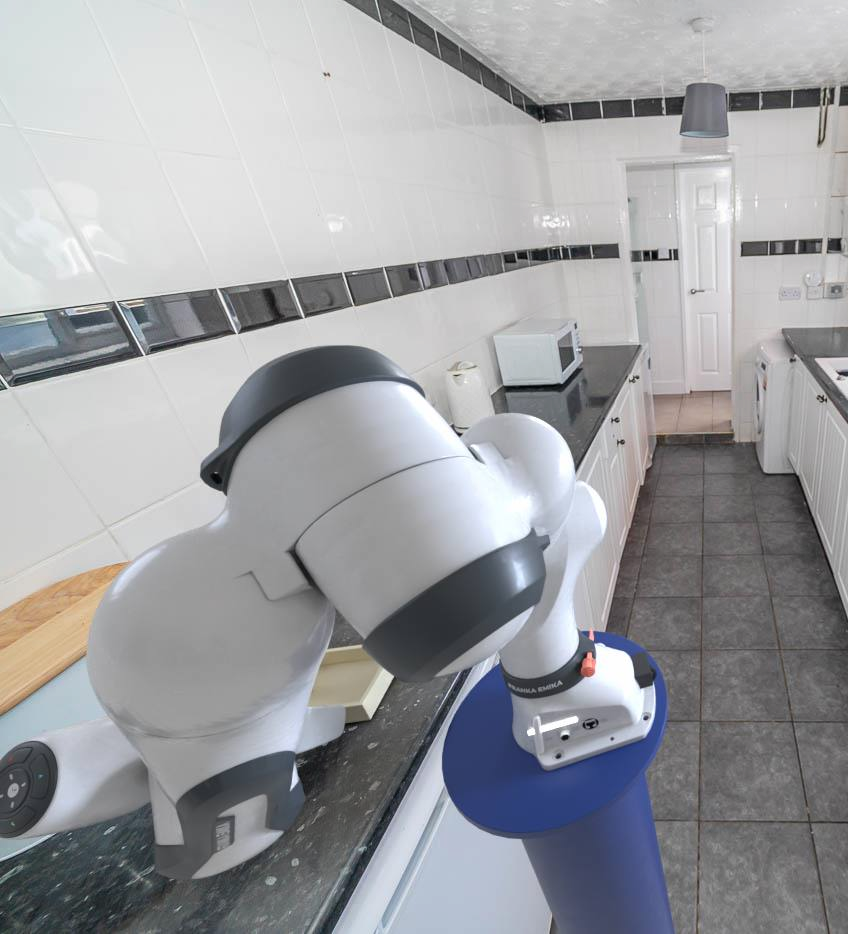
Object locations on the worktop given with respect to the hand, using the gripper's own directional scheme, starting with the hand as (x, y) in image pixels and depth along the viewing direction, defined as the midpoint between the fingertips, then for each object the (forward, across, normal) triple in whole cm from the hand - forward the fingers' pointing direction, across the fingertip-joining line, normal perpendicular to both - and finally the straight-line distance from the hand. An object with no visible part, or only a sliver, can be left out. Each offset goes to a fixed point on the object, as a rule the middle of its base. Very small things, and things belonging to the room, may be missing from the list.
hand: (295, 723), depth 67 cm
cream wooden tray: (+16, -5, +3) cm, 17 cm away
